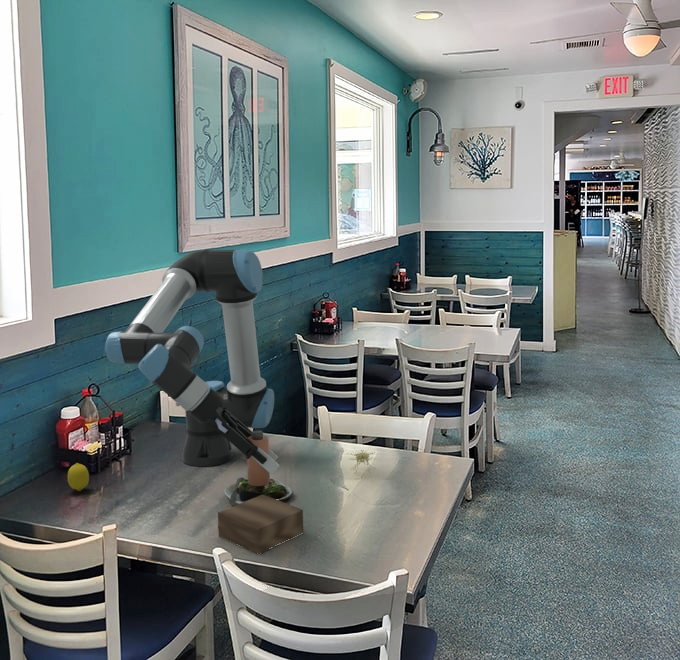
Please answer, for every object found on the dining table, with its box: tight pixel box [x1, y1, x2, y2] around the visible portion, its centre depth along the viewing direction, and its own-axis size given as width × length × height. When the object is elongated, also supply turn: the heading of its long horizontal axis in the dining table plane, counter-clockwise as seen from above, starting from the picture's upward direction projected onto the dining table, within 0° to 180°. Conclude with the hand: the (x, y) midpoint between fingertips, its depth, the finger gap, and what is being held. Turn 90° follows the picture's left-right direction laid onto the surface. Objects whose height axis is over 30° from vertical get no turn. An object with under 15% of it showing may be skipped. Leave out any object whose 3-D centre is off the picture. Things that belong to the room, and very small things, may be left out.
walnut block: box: [217, 495, 304, 555], centre depth 178 cm, size 14×14×6 cm
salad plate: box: [224, 476, 293, 506], centre depth 202 cm, size 19×18×5 cm
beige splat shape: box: [346, 445, 378, 474], centre depth 217 cm, size 10×13×8 cm
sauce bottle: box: [246, 430, 271, 486], centre depth 175 cm, size 5×5×12 cm
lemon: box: [67, 462, 90, 492], centre depth 206 cm, size 6×6×8 cm
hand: (274, 465), depth 175 cm, fingers closed on sauce bottle, 5 cm apart
